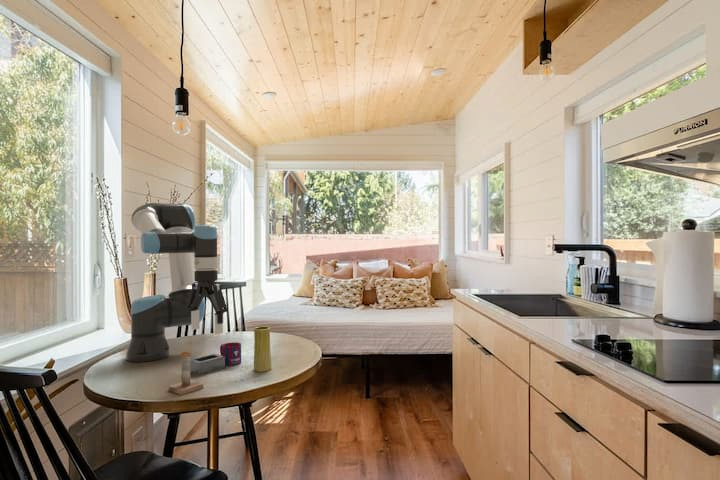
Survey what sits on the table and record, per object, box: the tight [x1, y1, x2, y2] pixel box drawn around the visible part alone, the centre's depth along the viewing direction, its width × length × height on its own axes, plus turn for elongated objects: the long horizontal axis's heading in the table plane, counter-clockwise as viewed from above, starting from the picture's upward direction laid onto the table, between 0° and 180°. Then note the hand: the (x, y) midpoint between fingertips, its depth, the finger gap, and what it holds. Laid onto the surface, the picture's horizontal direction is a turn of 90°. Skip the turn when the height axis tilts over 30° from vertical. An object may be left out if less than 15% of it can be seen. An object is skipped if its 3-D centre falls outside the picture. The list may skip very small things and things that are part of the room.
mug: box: [219, 341, 242, 367], centre depth 152 cm, size 7×10×7 cm
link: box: [190, 353, 226, 376], centre depth 143 cm, size 6×10×4 cm, turn 144°
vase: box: [253, 326, 272, 373], centre depth 142 cm, size 6×6×14 cm
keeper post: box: [168, 350, 204, 396], centre depth 124 cm, size 7×7×11 cm
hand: (206, 331), depth 143 cm, fingers open, 13 cm apart
